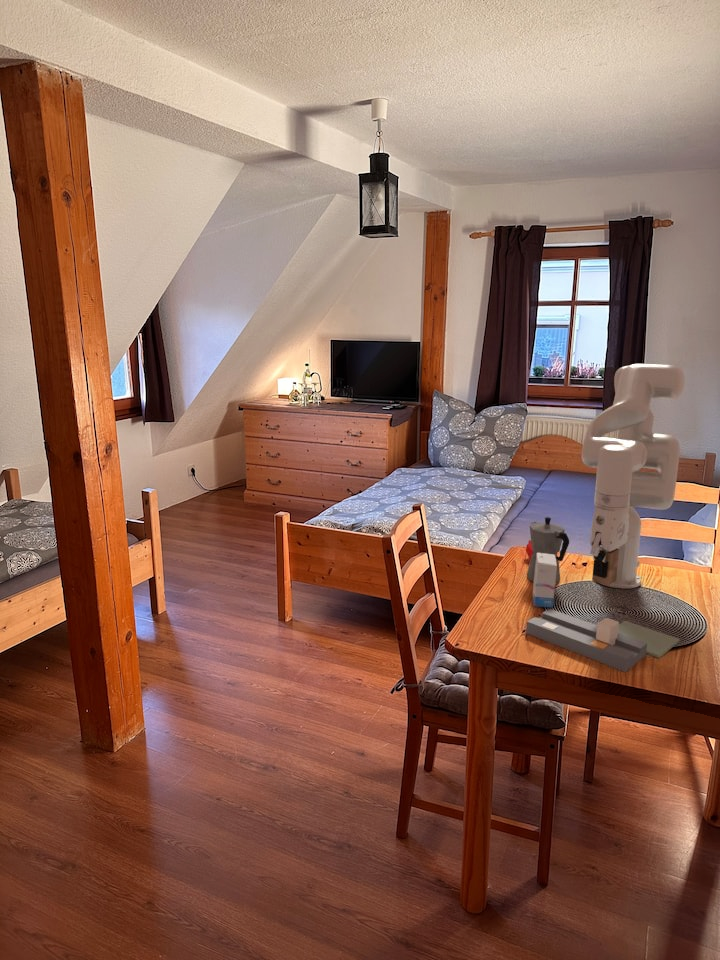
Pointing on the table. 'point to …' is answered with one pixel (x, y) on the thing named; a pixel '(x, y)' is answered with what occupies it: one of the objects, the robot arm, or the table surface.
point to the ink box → (544, 580)
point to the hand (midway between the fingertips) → (604, 572)
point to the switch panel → (586, 640)
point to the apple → (529, 550)
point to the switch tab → (607, 631)
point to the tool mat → (649, 638)
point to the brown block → (609, 568)
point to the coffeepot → (547, 543)
